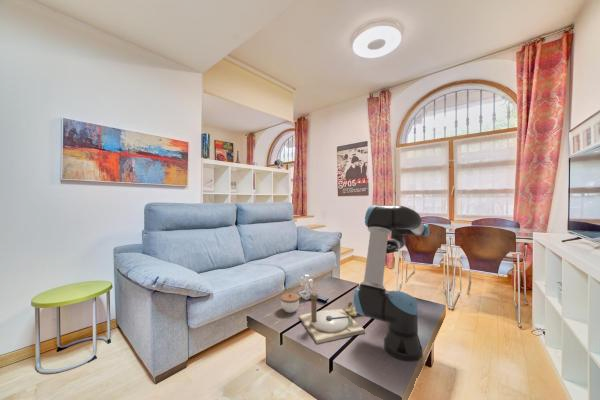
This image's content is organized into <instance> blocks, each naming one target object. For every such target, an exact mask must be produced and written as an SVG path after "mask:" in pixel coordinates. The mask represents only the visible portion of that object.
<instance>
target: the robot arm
mask: <svg viewBox="0 0 600 400" xmlns="http://www.w3.org/2000/svg"><path fill="white" fill-rule="evenodd" d="M364 224H365V227H367V231H368V232H369V239H368V246H367V255H366V261H365V263H366V264H365V270H364V277H363V281H361V282H360V283H359V286H358V287H356V288H355V290H354V294H353V307H355V310H356V312H357V313H358V314H359V315H361V316H363V317H366V318H370V319H374V320H378V321H382V322H385V323H388V326H387V331H386V333H385V337H384V339H383V348H384V349H385V351H386V352H387V354H389V355H390V356H392V357H394V358H396V359H398V360H402V361H405V362H414V361H415V362H416V361H418V360H420V359H421V358H422V357H423V346H422V345H421V340H420V337H419V333H418V331H419V330H418V329H419V328H418V326H419V325H418V323H419V319H418V318H419V315H418V314H419V308H418V307H419V305H418V304H419V303H418V301H417V299H416V298H415V297H413V296H412V295H411V294H408V293H407V292H404V291H402V290H401V291H400V290H391V291H389V292H388V293H386V287H385V286H384V284H383V283H384V276H385V268H386V267H385V265H386V258H387V257H386V256H387V254H391V253H392V254H393V253H396V252H397V253H398V252H399V250H401V249H403V248H404V247H405V245H406V240H405V238H404V236H405V235H406V236H407V235H408V236H416V237H417V236H418V237H428V236H429V235H430V225H429V224H428V223H423V222H422V217H421V215H420V214H419V213H418V212H417V211H415V209H411V208H410V207H408V206H404V205H387V204H385V205H381V204H376V205H374V204H373V205H370V206H369V207H368V208H367V210H366V211H365V216H364ZM388 236H390V239H389V237H388ZM358 314H357V315H358Z"/></svg>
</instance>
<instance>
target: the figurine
mask: <svg viewBox="0 0 600 400" xmlns="http://www.w3.org/2000/svg"><path fill="white" fill-rule="evenodd" d="M299 281H300V286H301V287H303V286H304V290H299V296H301V298H302V299H304V300H305V301H308V300H311V299H310V294H311V293H315V292H314V291H312V290H310V288H314V279H312V278H310V274H308V273H306V274H304V277H303V276H300V279H299Z"/></svg>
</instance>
